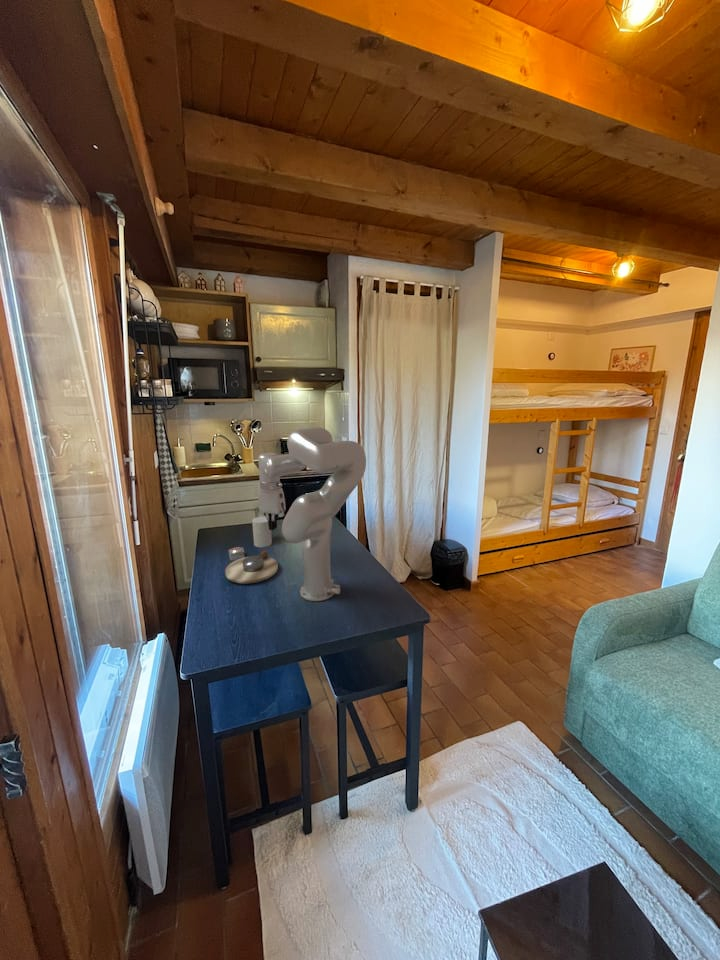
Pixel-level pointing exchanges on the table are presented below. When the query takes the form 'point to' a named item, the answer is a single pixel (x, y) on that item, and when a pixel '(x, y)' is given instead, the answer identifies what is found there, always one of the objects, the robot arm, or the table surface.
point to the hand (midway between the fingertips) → (272, 528)
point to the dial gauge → (236, 553)
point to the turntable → (240, 576)
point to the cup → (261, 532)
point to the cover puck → (253, 564)
